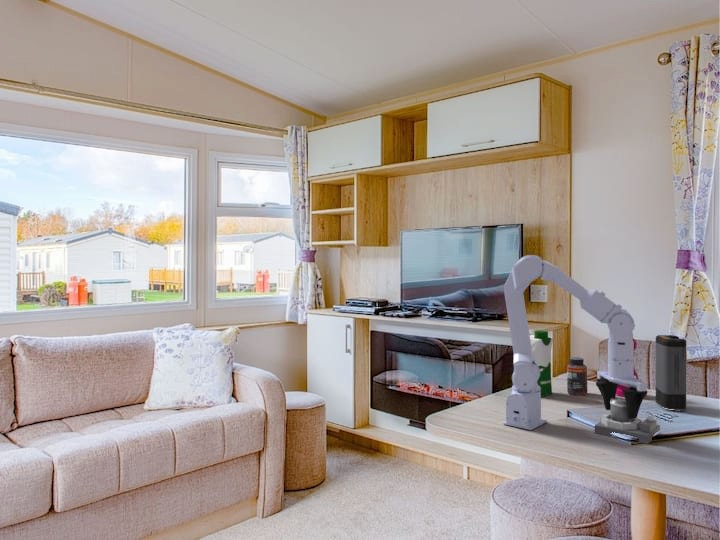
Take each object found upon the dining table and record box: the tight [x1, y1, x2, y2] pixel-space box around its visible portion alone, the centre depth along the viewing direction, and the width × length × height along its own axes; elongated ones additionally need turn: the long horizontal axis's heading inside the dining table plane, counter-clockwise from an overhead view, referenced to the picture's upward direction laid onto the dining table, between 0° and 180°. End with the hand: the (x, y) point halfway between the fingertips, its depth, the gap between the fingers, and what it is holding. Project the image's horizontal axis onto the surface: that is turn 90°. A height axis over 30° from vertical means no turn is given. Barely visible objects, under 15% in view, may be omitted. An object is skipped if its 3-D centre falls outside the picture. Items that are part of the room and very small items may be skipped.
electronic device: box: [655, 334, 687, 412], centre depth 158 cm, size 9×6×20 cm, turn 168°
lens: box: [610, 397, 631, 423], centre depth 137 cm, size 5×5×6 cm
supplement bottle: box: [566, 356, 588, 397], centre depth 174 cm, size 6×6×11 cm
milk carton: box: [530, 330, 554, 398], centre depth 175 cm, size 9×9×20 cm
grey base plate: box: [594, 413, 661, 445], centre depth 136 cm, size 10×12×4 cm
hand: (620, 413), depth 137 cm, fingers open, 7 cm apart
